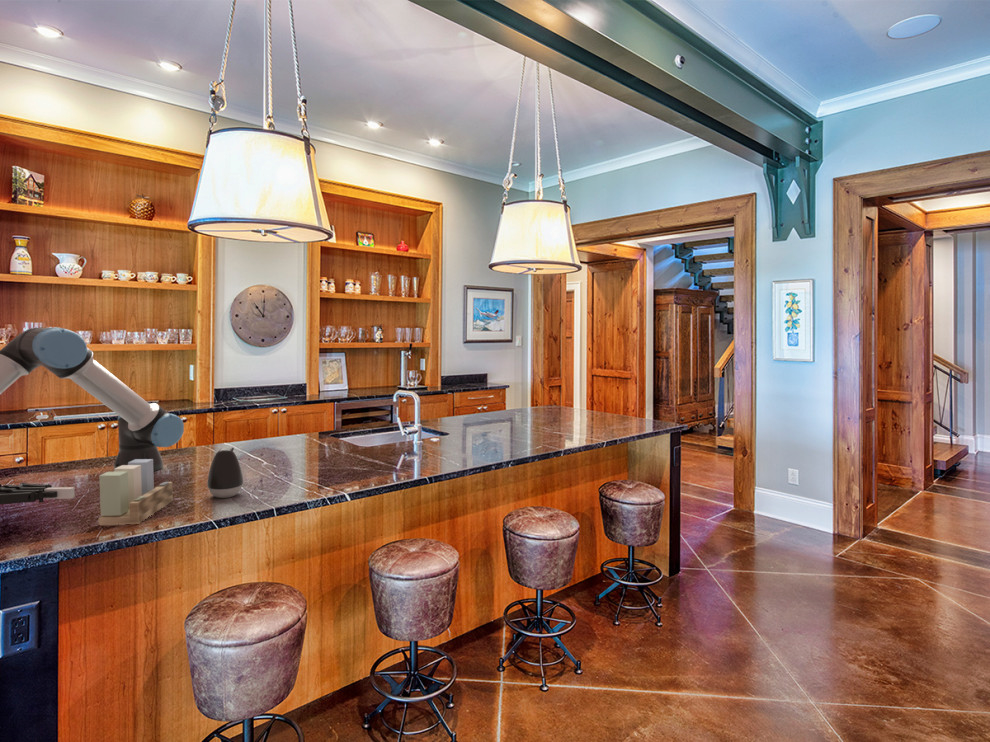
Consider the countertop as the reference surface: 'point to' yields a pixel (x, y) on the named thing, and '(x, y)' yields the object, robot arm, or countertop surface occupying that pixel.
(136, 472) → the cream rectangular block
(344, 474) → the countertop surface
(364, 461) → the countertop surface
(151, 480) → the slate key
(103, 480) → the pale green tall block
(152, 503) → the wooden key holder base
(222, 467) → the pump dispenser
